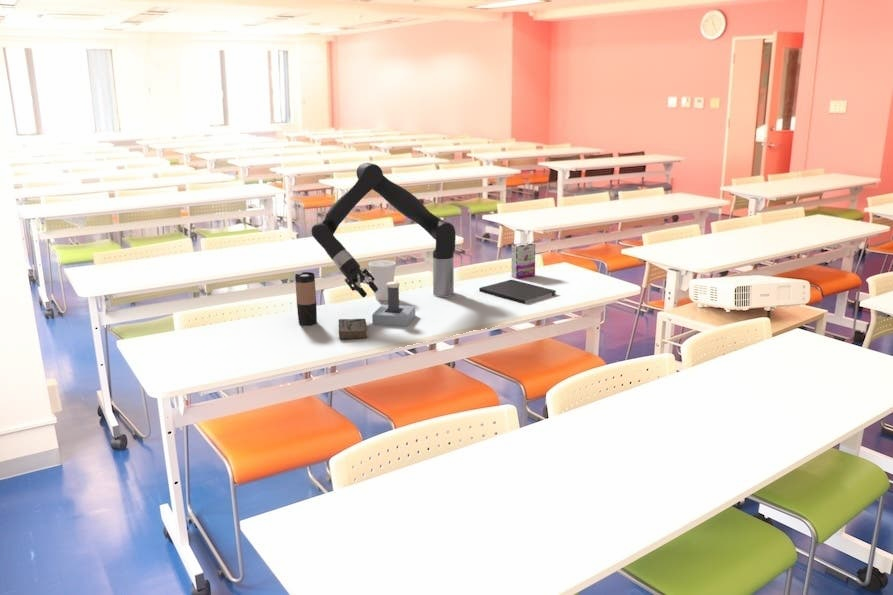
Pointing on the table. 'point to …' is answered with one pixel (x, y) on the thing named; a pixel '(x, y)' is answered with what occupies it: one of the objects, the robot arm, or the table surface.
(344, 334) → the box
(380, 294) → the cup
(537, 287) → the notebook
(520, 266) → the candy bar box
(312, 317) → the travel mug
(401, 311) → the socket
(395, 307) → the plug
